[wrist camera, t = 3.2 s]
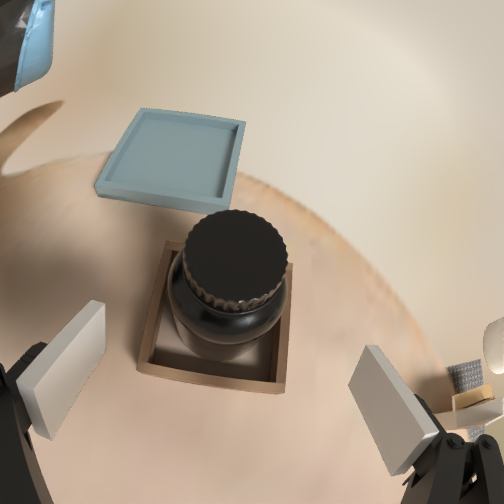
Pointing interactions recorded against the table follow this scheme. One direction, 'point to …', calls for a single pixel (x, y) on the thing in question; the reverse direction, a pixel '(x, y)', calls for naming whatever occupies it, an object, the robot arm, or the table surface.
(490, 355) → the cylindrical container
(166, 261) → the frame
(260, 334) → the supplement bottle
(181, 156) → the tray
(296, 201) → the table surface
